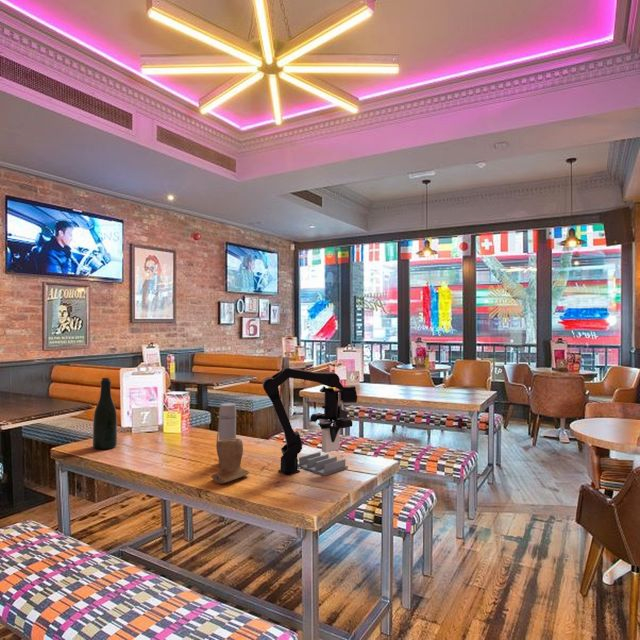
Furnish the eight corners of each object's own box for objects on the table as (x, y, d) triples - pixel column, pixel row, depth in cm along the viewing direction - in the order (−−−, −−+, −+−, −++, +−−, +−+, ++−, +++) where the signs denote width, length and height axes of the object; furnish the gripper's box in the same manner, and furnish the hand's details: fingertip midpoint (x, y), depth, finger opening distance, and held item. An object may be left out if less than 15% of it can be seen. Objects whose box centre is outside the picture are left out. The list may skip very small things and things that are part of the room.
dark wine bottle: (119, 447, 220) (120, 377, 220) (95, 451, 213) (97, 379, 214) (113, 443, 228) (114, 375, 228) (89, 446, 221) (90, 377, 222)
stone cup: (231, 470, 188) (232, 433, 189) (253, 476, 182) (254, 437, 182) (202, 480, 176) (203, 440, 176) (224, 487, 169) (225, 445, 169)
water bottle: (239, 462, 199) (240, 403, 200) (228, 467, 192) (229, 406, 193) (222, 459, 203) (222, 402, 204) (210, 464, 196) (211, 404, 196)
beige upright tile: (326, 452, 187) (326, 430, 187) (321, 451, 189) (322, 429, 189) (339, 449, 193) (339, 427, 193) (335, 448, 194) (335, 426, 194)
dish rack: (324, 475, 183) (324, 465, 183) (296, 466, 195) (296, 457, 195) (347, 468, 193) (347, 458, 193) (320, 459, 204) (320, 451, 205)
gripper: (361, 404, 190) (360, 442, 190) (328, 398, 203) (327, 434, 203) (343, 407, 182) (342, 447, 182) (309, 401, 195) (309, 438, 195)
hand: (330, 441), depth 191 cm, fingers closed on beige upright tile, 2 cm apart
